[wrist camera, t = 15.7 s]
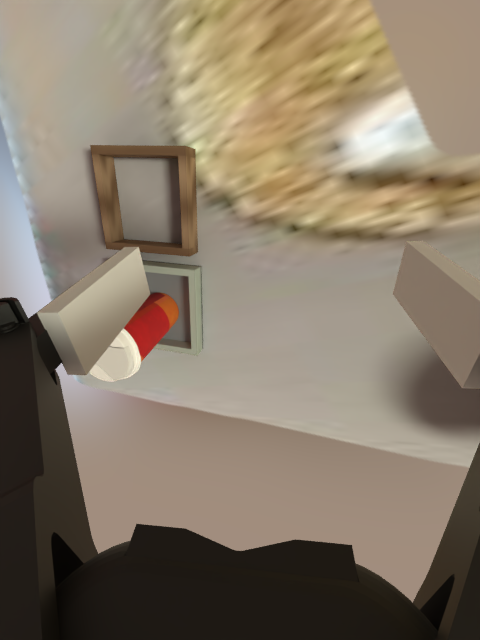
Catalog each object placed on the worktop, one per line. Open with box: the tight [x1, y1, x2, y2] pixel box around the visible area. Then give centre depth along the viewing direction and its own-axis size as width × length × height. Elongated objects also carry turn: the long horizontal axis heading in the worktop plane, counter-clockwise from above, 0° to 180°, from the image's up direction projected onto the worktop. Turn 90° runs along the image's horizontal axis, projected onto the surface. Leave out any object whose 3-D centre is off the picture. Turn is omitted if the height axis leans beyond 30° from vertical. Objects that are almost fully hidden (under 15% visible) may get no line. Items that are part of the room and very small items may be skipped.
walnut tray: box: [90, 145, 198, 256], centre depth 39 cm, size 13×13×3 cm
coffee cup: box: [89, 292, 179, 382], centre depth 40 cm, size 8×8×15 cm
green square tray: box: [142, 260, 203, 356], centre depth 46 cm, size 14×14×2 cm
